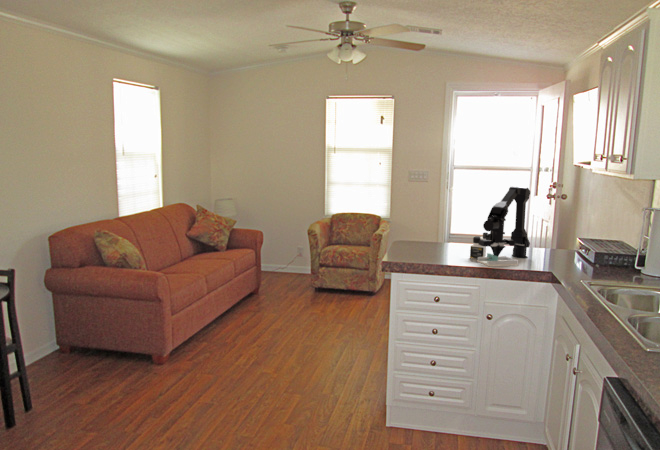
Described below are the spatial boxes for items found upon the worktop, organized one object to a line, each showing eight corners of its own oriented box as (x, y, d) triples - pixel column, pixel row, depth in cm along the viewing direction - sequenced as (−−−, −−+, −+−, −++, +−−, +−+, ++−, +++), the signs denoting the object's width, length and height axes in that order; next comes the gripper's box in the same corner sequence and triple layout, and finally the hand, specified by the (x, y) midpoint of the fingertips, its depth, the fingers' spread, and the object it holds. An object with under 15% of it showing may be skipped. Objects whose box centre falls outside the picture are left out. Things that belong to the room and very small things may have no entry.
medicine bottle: (469, 258, 281) (471, 237, 280) (472, 256, 288) (473, 235, 286) (482, 259, 278) (484, 238, 276) (485, 257, 284) (486, 236, 283)
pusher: (488, 259, 274) (489, 253, 273) (497, 262, 266) (498, 256, 265) (475, 260, 272) (475, 253, 271) (483, 263, 264) (484, 256, 263)
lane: (504, 260, 278) (505, 255, 278) (517, 265, 267) (518, 260, 266) (477, 261, 274) (477, 256, 274) (489, 266, 262) (489, 261, 262)
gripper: (504, 227, 277) (502, 254, 280) (474, 227, 273) (472, 255, 275) (516, 230, 267) (514, 259, 269) (485, 230, 262) (483, 260, 264)
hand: (495, 258), depth 270 cm, fingers closed
